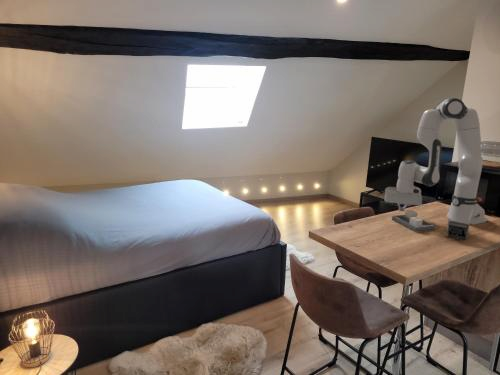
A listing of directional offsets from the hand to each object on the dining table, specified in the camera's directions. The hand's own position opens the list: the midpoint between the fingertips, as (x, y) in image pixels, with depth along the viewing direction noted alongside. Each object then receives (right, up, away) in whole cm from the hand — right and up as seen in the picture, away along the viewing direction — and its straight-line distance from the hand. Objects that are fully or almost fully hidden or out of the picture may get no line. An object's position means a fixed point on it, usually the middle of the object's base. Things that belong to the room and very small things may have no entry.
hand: (401, 210), depth 213 cm
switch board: (+1, -7, -13) cm, 14 cm away
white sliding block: (-1, -7, -19) cm, 20 cm away
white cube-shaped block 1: (+2, -4, -7) cm, 9 cm away
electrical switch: (+15, -12, -30) cm, 36 cm away
